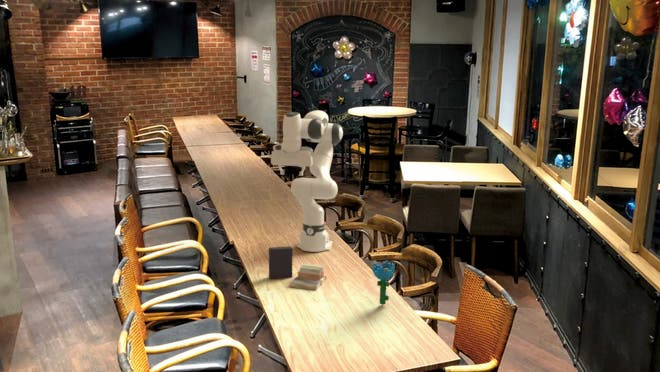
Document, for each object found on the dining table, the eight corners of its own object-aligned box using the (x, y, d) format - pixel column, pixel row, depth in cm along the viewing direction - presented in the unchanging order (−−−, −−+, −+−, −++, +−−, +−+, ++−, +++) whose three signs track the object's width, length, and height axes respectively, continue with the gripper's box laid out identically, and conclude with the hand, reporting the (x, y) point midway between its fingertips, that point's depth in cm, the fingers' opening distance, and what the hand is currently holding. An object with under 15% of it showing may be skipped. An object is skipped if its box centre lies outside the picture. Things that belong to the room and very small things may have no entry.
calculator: (290, 275, 291) (290, 245, 288) (292, 278, 287) (292, 248, 284) (268, 276, 288) (268, 247, 285) (270, 279, 284) (269, 249, 281)
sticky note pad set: (301, 276, 289) (301, 262, 288) (326, 279, 285) (326, 265, 284) (289, 286, 275) (289, 272, 274) (316, 290, 271) (316, 275, 270)
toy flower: (368, 302, 258) (369, 262, 254) (384, 298, 263) (385, 259, 259) (380, 309, 250) (382, 268, 247) (397, 305, 255) (398, 264, 252)
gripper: (314, 146, 286) (314, 174, 289) (273, 144, 290) (273, 172, 292) (311, 148, 280) (311, 176, 282) (269, 146, 284) (269, 174, 286)
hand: (291, 174), depth 287 cm, fingers open, 8 cm apart
